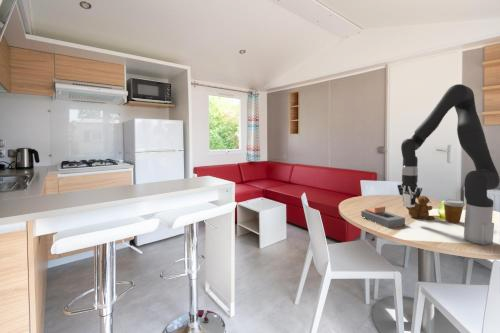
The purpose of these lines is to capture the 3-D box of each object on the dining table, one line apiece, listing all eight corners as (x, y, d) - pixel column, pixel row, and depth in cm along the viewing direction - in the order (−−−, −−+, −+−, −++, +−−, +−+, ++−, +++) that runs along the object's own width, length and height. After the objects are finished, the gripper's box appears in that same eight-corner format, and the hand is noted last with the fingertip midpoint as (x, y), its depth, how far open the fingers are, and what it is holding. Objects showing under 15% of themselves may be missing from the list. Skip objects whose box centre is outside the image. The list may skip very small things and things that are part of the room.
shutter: (385, 212, 149) (385, 206, 149) (375, 213, 147) (376, 207, 147) (373, 208, 157) (374, 203, 157) (365, 210, 155) (365, 204, 155)
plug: (414, 206, 142) (415, 192, 141) (409, 207, 141) (409, 193, 140) (408, 205, 146) (408, 191, 145) (403, 205, 144) (403, 191, 144)
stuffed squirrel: (436, 219, 148) (437, 197, 146) (412, 220, 148) (413, 198, 146) (424, 214, 157) (426, 194, 156) (402, 215, 158) (403, 194, 156)
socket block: (404, 224, 140) (405, 217, 139) (388, 227, 136) (388, 220, 136) (376, 214, 159) (376, 208, 158) (361, 217, 155) (361, 210, 155)
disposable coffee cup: (451, 218, 149) (452, 198, 147) (467, 223, 139) (469, 202, 138) (437, 219, 147) (438, 199, 146) (453, 225, 138) (454, 203, 137)
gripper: (426, 175, 136) (425, 205, 138) (403, 172, 149) (402, 200, 151) (416, 175, 134) (415, 207, 135) (393, 173, 147) (393, 201, 148)
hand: (408, 203), depth 143 cm, fingers closed on plug, 4 cm apart
